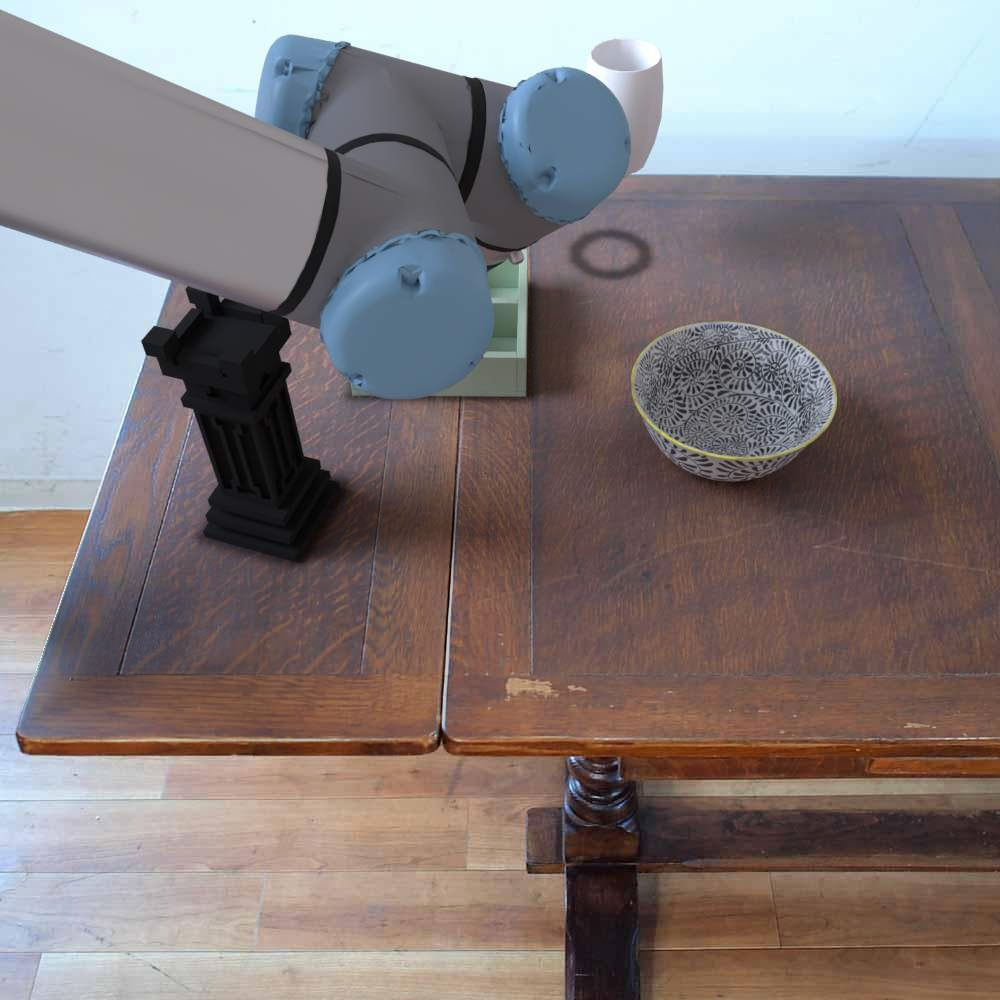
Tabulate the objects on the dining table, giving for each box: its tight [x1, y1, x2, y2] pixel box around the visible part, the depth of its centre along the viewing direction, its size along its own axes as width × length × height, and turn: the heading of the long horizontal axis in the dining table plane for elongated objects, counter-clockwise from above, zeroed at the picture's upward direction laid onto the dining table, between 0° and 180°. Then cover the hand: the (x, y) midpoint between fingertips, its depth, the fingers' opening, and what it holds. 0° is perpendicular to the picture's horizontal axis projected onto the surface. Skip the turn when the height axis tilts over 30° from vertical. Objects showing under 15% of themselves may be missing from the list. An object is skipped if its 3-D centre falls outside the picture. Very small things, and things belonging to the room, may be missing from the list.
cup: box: [585, 37, 664, 179], centre depth 96 cm, size 7×7×21 cm
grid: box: [350, 248, 529, 398], centre depth 95 cm, size 15×15×5 cm
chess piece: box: [140, 286, 341, 563], centre depth 75 cm, size 8×8×20 cm
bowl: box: [630, 320, 838, 483], centre depth 84 cm, size 16×16×8 cm
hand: (385, 280), depth 88 cm, fingers open, 13 cm apart
